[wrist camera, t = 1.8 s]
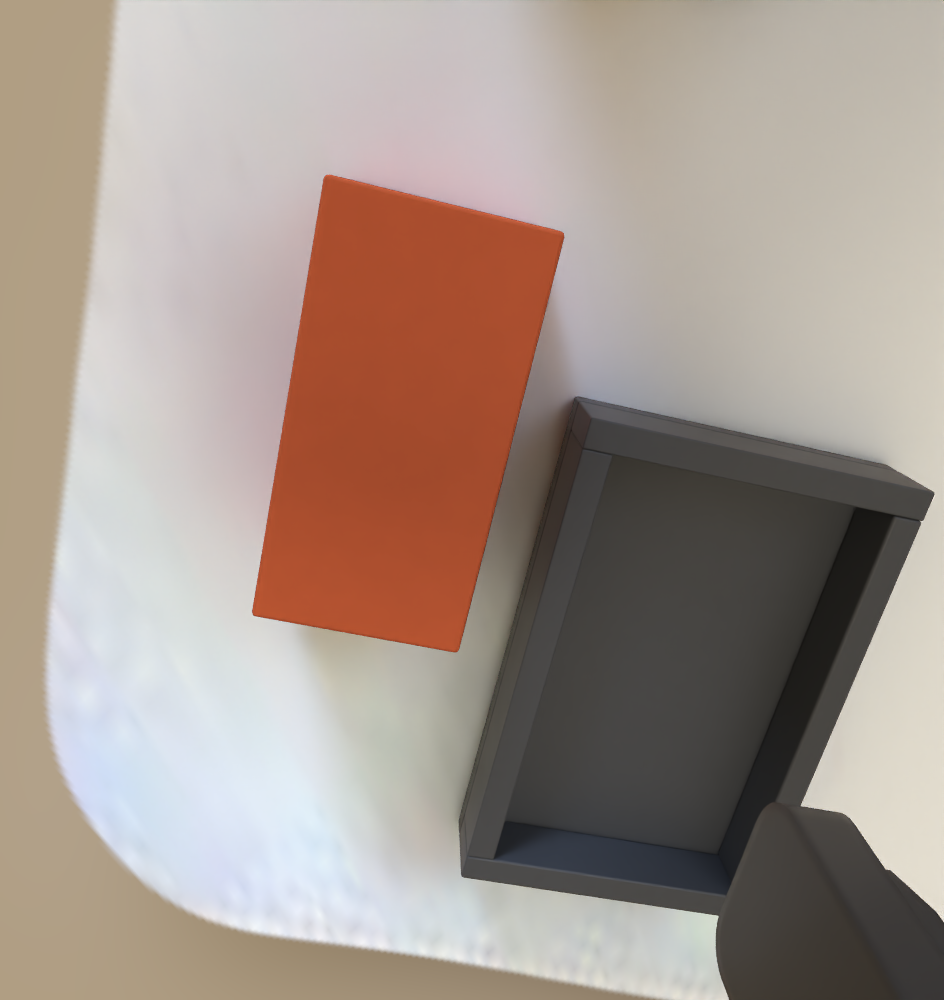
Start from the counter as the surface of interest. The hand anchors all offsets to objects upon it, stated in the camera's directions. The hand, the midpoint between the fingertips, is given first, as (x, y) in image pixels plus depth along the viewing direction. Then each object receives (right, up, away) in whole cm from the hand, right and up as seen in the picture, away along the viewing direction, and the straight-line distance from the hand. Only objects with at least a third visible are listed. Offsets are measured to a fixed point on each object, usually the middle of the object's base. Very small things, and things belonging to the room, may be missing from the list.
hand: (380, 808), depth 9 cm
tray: (+6, -1, +17) cm, 18 cm away
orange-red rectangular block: (-1, +6, +14) cm, 15 cm away
